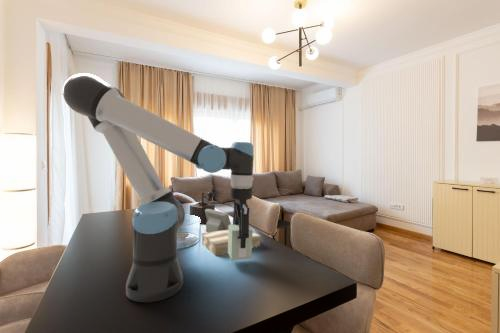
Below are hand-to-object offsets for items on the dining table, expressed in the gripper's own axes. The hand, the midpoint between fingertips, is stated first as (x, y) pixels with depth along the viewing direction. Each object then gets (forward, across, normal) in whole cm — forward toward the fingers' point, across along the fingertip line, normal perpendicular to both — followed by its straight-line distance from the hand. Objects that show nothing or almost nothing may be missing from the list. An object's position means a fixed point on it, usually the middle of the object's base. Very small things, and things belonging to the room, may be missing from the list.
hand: (239, 252), depth 87 cm
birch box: (+5, +18, 0) cm, 18 cm away
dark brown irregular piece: (+5, +57, +7) cm, 57 cm away
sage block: (+1, 0, 0) cm, 1 cm away
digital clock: (+4, +38, +2) cm, 38 cm away
